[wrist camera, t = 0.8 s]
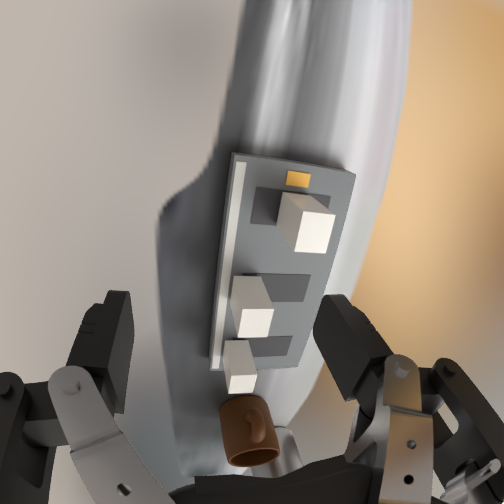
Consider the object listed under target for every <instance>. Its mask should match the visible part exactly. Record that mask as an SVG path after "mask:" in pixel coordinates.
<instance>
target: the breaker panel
mask: <svg viewBox="0 0 504 504" xmlns="http://www.w3.org/2000/svg"><path fill="white" fill-rule="evenodd" d="M355 178H356V174H354V173H351V172H349V171H347V170H343V169H338V168H333V167H328V166H323V165H318V164H312V163H307V162H301V161H295V160H289V159H282V158H275V157H269V156H261V155H254V154H246V153H237V152H232V153H231V160H230V167H229V175H228V182H227V190H226V197H225V205H224V213H223V221H222V230H221V238H220V247H219V256H218V265H217V274H216V284H215V294H214V304H213V314H212V325H211V337H210V348H209V366H210V371H224V365H223V352H224V345H225V340H248V341H249V345H250V349H251V352H252V356H253V360H254V364H255V367H256V370H259V369H276V368H289V367H298V364H299V362H300V359H301V356H302V354H303V351H304V348H305V346H306V343H307V340H308V337H309V335H310V332H311V329H312V326H313V323H314V320H315V317H316V315H317V312H318V309H319V306H320V303H321V300H322V297H323V293H324V290H325V287H326V284H327V281H328V278H329V274H330V271H331V268H332V265H333V261H334V258H335V254H336V251H337V247H338V244H339V240H340V237H341V233H342V230H343V226H344V222H345V218H346V214H347V211H348V207H349V203H350V199H351V195H352V190H353V186H354V182H355ZM283 192H286V193H294V194H302V195H309V196H311V197H313V198H314V199H315V200H317V201H318V202H319V203H321V204H322V205H323V206H325V207H326V208H327V209H329V210H330V211H331V212H332V213H334V214H335V215H336V216H335V220H334V224H333V228H332V232H331V235H330V239H329V243H328V247H327V250H326V254H325V253H308V252H294V251H293V249H292V248H291V246H290V245H289V243H288V242H287V241H286V239H285V238H284V236H283V235H282V234H281V232H280V231H279V229H278V228H277V226H276V224H277V219H278V214H279V209H280V203H281V198H282V193H283ZM234 276H259V277H261V278H262V281H263V283H264V285H265V288H266V290H267V293H268V295H269V298H270V300H271V302H272V305H273V307H274V312H273V316H272V320H271V324H270V328H269V332H268V336H267V337H253V338H238V336H237V332H236V327H235V323H234V318H233V314H232V309H231V304H230V300H231V293H232V286H233V278H234Z"/></svg>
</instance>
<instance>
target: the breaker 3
mask: <svg viewBox="0 0 504 504" xmlns="http://www.w3.org/2000/svg"><path fill="white" fill-rule="evenodd" d="M335 216H336V215H335V214H334V213H332V212H331V211H330V210H329V209H327V208H326V207H325V206H323V205H322V204H321V203H319V202H318V201H317V200H315V199H314V198H313V197H311V196H309V195H302V194H294V193H286V192H283V193H282V198H281V203H280V209H279V214H278V219H277V224H276V226H277V228H278V229H279V231H280V232H281V234H282V235H283V236H284V238H285V239H286V241H287V242H288V243H289V245H290V246H291V248H292V249H293V251H294V252H308V253H325V254H326V250H327V247H328V243H329V239H330V235H331V232H332V228H333V224H334V220H335Z"/></svg>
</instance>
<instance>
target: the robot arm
mask: <svg viewBox="0 0 504 504" xmlns="http://www.w3.org/2000/svg"><path fill="white" fill-rule="evenodd" d="M313 337H314V340H315V342H316V344H317V346H318V348H319V350H320V352H321V354H322V356H323V358H324V360H325V362H326V364H327V366H328V368H329V370H330V372H331V374H332V376H333V378H334V380H335V382H336V384H337V386H338V388H339V390H340V392H341V394H342V396H343V398H344V400H345V402H346V401H350V400H355V399H357V401H358V405H357V406H356V408H355V412H354V417H353V423H352V428H351V433H350V438H349V442H348V446H347V449H346V451H345V453H344V455H340V456H336V457H332V458H329V459H325V460H320V461H316V462H312V463H310V464H307V465H305V466H303V463H302V460H301V457H300V454H299V451H298V448H297V445H296V442H295V439H294V436H293V433H292V431H291V430H290V429H288V428H283V427H277V428H275V431H276V435H277V438H278V442H279V447H280V455H279V456H278V457H277V458H276V459H275V460H273V461H271V462H268V463H266V464H262V465H258V466H252V467H251V470H252V475H253V476H243V475H236V474H232V475H217V476H194V478H195V484H191V485H187V486H184V487H181V488H178V489H176V490H174V491H172V492H170V493H168V494H167V493H166V491H165V490H164V489H163V488H162V486H161V485H160V484H159V483H158V481H157V480H156V479H155V478H154V476H153V475H152V474H151V472H150V471H149V470H148V468H147V467H146V466H145V464H144V463H143V461H142V460H141V458H140V457H139V456H138V454H137V453H136V451H135V450H134V448H133V447H132V445H131V444H130V442H129V441H128V439H127V438H126V436H125V435H124V433H123V432H121V430H120V429H119V427H118V425H117V424H116V422H115V420H114V413H120V414H124V405H125V397H126V388H127V381H128V374H129V367H130V361H131V355H132V349H133V343H134V321H133V314H132V306H131V298H130V293H129V291H114V290H113V291H112V290H109V291H108V293H107V296H106V298H105V300H104V303H103V304H98V303H95V304H94V305H93V306H92V307H91V308H90V309H88V310H87V312H86V313H85V315H84V318H83V320H82V325H80V328H79V331H78V334H77V336H76V338H75V341H74V344H73V346H72V349H71V352H70V355H69V358H68V361H67V363H66V366H65V367H62V368H60V369H58V370H57V371H55V372H54V373H53V374H52V376H51V377H50V379H49V381H46V382H38V383H28V384H24V383H23V381H22V380H21V378H20V377H19V376H18V375H17V374H15V373H12V372H3V373H0V504H48V500H49V490H50V483H51V476H52V470H53V464H54V458H55V453H56V448H57V446H62V445H70V448H71V452H70V455H71V458H72V460H73V463H74V465H75V467H76V469H77V471H78V473H79V474H80V476H81V478H82V480H83V482H84V484H85V485H86V487H87V489H88V491H89V493H90V494H91V496H92V498H93V499H94V501H95V503H96V504H503V503H504V423H503V422H502V420H501V419H500V418H499V416H498V415H497V413H496V412H495V411H494V409H493V408H492V407H491V405H490V404H489V403H488V401H487V400H486V399H485V397H484V396H483V395H482V394H481V392H480V391H479V390H478V388H477V387H476V386H475V385H474V384H473V382H472V381H471V380H470V378H469V377H468V376H467V375H466V373H465V372H464V371H463V370H462V369H461V367H460V366H459V365H458V364H457V363H456V362H454V361H453V360H451V359H448V358H440V359H438V360H437V361H436V363H435V364H434V366H433V367H432V368H421V367H418V366H417V365H416V364H415V362H413V360H411V359H410V358H408V357H406V356H404V355H400V354H394V353H393V352H392V351H391V349H390V348H389V346H388V345H387V344H386V342H385V341H384V340H383V338H382V337H381V335H380V334H379V333H378V331H376V329H375V327H374V326H373V325H372V324H371V323H370V321H369V319H368V318H367V317H366V315H365V314H364V313H363V312H361V311H360V310H359V309H358V308H356V307H355V306H352V305H351V303H350V302H349V301H348V299H347V298H346V297H345V295H343V294H337V295H325V296H324V297H323V298H322V301H321V304H320V307H319V310H318V313H317V316H316V319H315V322H314V325H313ZM444 402H445V403H446V405H447V406H448V407H449V409H450V410H451V412H452V413H453V415H454V416H455V417H456V419H457V421H458V423H459V428H458V431H457V432H456V433H455V434H453V433H452V432H451V431H450V429H449V428H448V426H447V425H446V423H445V422H444V420H443V419H442V417H441V416H440V414H439V413H438V411H437V410H438V409H439V408H440V407H441V406H442V405H443V403H444ZM433 469H434V471H435V473H436V475H437V476H438V478H439V480H440V482H441V484H442V485H443V487H444V489H445V492H444V493H443V494H442V495H441V496H440V499H437V498H435V497H433V496H431V492H432V478H433Z"/></svg>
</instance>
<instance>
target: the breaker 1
mask: <svg viewBox="0 0 504 504" xmlns="http://www.w3.org/2000/svg"><path fill="white" fill-rule="evenodd" d="M230 304H231V309H232V314H233V318H234V323H235V327H236V332H237V336H238V338H253V337H267V336H268V332H269V328H270V324H271V320H272V316H273V312H274V307H273V305H272V302H271V300H270V298H269V295H268V293H267V290H266V288H265V285H264V283H263V281H262V278H261V277H259V276H234V278H233V286H232V293H231V300H230Z"/></svg>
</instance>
